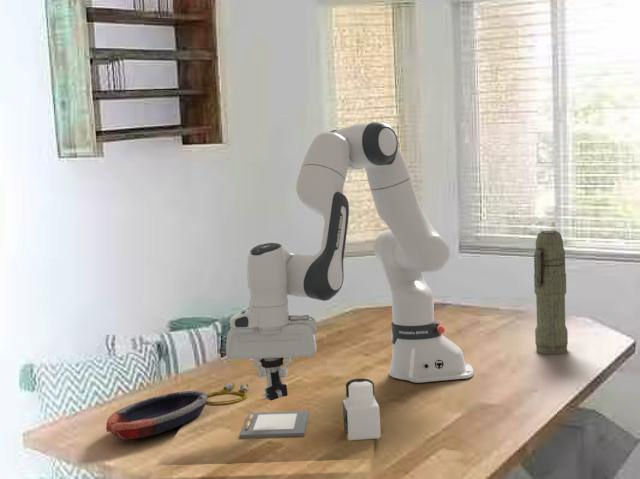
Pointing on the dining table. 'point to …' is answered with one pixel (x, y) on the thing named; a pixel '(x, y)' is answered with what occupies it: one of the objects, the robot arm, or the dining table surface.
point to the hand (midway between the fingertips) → (272, 376)
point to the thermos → (550, 293)
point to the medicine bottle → (361, 411)
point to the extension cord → (228, 387)
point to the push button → (273, 378)
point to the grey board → (275, 424)
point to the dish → (156, 414)
